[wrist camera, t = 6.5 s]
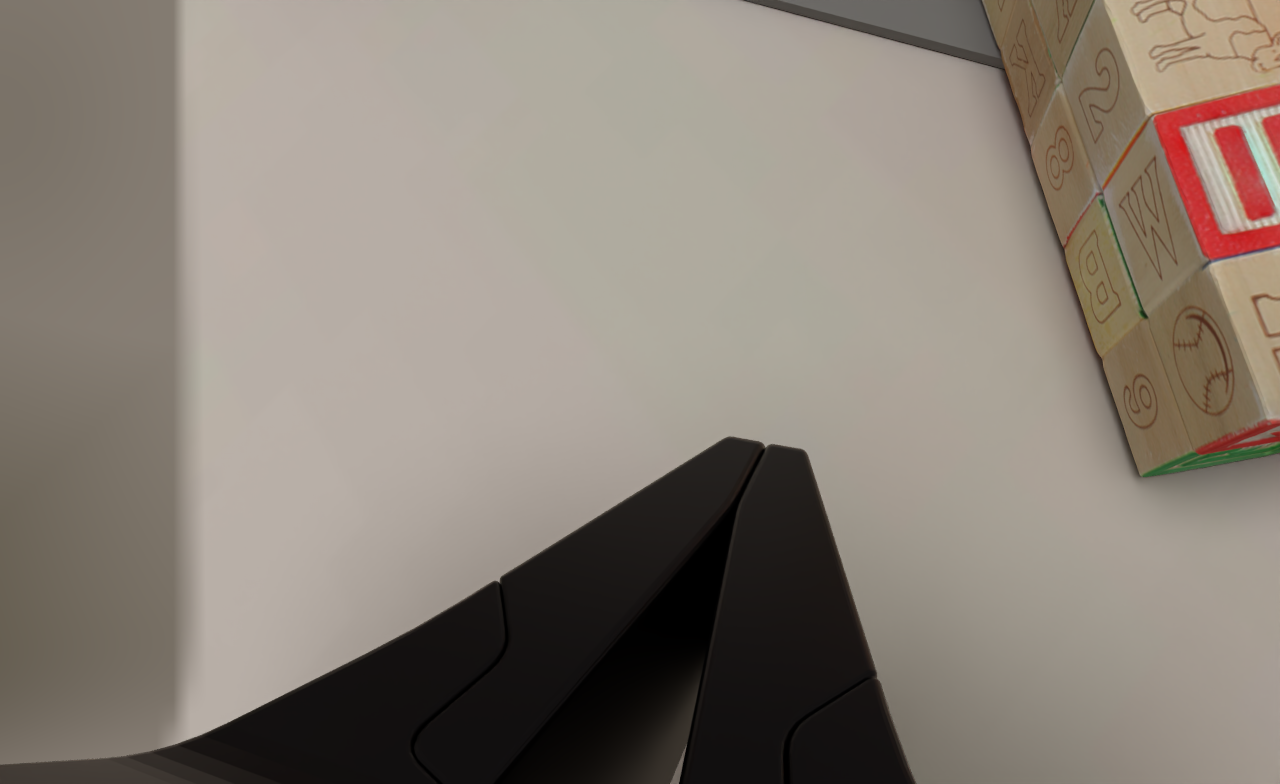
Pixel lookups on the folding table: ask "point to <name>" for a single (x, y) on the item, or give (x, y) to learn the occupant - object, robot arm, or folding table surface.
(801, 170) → the folding table surface
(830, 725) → the robot arm
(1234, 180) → the stack of blocks
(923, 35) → the mat
